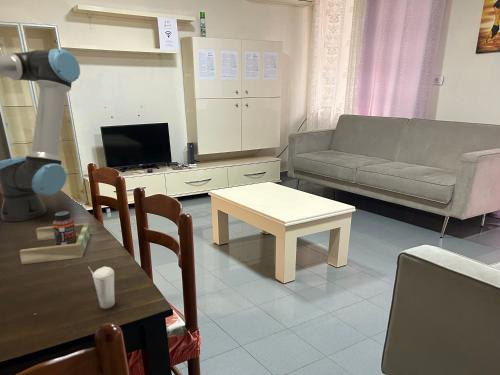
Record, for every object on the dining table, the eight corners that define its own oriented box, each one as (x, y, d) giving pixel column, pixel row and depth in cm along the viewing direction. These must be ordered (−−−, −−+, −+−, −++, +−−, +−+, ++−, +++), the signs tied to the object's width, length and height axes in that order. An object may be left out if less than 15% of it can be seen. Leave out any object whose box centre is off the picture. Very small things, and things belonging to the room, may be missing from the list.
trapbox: (39, 239, 122) (37, 227, 121) (90, 233, 126) (89, 222, 125) (21, 264, 105) (19, 251, 103) (82, 257, 109) (80, 244, 108)
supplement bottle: (69, 251, 113) (63, 216, 110) (52, 250, 114) (46, 215, 111) (81, 243, 118) (76, 210, 115) (65, 242, 119) (59, 209, 116)
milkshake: (96, 300, 87) (91, 261, 84) (120, 298, 87) (115, 260, 84) (90, 311, 82) (84, 271, 80) (114, 309, 83) (109, 270, 80)
